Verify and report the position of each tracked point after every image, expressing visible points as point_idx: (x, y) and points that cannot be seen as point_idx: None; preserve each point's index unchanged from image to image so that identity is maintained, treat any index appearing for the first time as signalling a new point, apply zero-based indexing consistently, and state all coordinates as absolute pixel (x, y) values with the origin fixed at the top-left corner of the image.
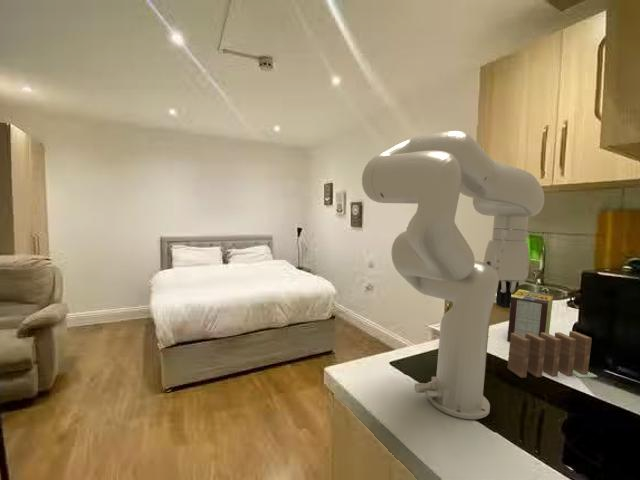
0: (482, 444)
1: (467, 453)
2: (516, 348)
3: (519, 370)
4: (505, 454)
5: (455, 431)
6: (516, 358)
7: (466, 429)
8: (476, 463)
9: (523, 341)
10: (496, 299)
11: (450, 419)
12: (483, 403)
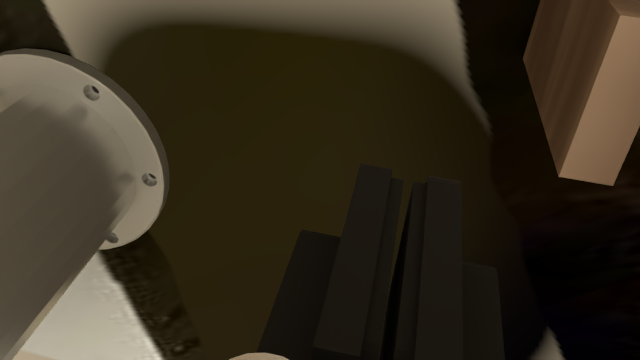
0: (58, 300)
1: None
2: (567, 60)
3: (532, 55)
4: (96, 333)
5: None
6: (552, 43)
7: None
8: None
9: (561, 157)
10: (295, 253)
11: None
12: (132, 214)
